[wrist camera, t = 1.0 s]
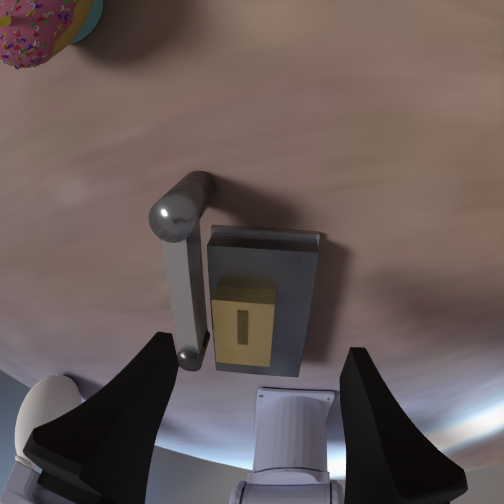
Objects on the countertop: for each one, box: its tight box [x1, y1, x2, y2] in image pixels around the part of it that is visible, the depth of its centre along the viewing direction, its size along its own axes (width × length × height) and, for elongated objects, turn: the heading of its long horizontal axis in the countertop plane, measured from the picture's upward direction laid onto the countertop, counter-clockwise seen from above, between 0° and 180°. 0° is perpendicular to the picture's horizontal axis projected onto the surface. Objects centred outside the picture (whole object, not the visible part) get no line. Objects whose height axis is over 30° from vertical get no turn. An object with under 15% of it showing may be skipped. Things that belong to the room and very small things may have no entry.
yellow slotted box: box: [212, 285, 276, 367], centre depth 22 cm, size 6×4×2 cm, turn 179°
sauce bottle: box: [15, 375, 81, 469], centre depth 28 cm, size 8×8×18 cm
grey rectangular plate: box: [207, 225, 320, 377], centre depth 23 cm, size 13×7×2 cm, turn 179°
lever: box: [149, 171, 216, 371], centre depth 20 cm, size 12×2×6 cm, turn 179°
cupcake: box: [0, 0, 103, 69], centre depth 9 cm, size 9×8×12 cm
